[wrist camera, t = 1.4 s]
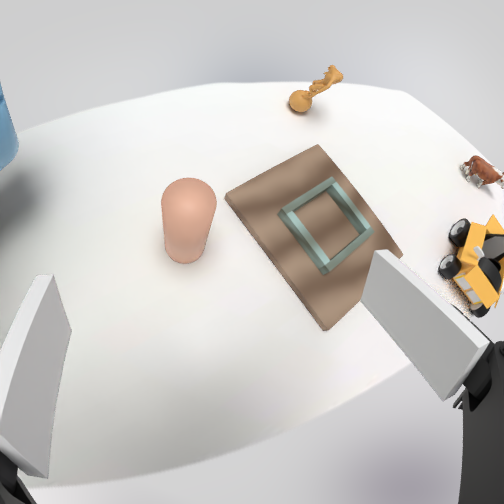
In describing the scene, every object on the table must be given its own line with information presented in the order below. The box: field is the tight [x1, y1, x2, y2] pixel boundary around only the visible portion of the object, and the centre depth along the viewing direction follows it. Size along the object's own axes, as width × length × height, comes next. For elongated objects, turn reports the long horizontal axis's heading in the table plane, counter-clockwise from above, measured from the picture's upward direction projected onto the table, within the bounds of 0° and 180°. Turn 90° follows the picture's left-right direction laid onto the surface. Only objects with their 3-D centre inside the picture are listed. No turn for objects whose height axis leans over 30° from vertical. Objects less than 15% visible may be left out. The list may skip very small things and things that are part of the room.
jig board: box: [224, 144, 403, 331], centre depth 42 cm, size 22×18×4 cm
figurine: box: [289, 65, 343, 112], centre depth 44 cm, size 8×6×12 cm
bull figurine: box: [460, 156, 504, 189], centre depth 55 cm, size 4×13×8 cm, turn 73°
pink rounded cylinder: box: [161, 178, 217, 264], centre depth 33 cm, size 5×5×12 cm
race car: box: [439, 215, 504, 318], centre depth 45 cm, size 15×15×11 cm
